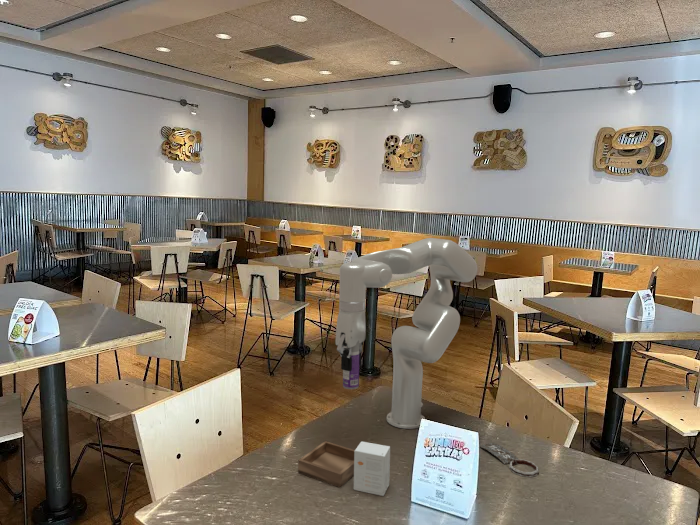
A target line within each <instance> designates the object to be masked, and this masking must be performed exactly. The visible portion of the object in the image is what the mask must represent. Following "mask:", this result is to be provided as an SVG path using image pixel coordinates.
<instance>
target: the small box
mask: <svg viewBox="0 0 700 525" xmlns="http://www.w3.org/2000/svg"><path fill="white" fill-rule="evenodd" d="M354 450H355V451H354V476H353V490H354V491H358V492H362V493H367V494H372V495H375V496H381V497H384V496H385V495H386V492H387V490H388V488H389V486H390V473H391V472H390V470H391V466H390V464H391V446H390V445H385V444H378V443H371V442H367V441H360V442H359V444H358V445H357V447H356V448H355V449H354Z"/></svg>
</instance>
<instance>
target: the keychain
mask: <svg viewBox="0 0 700 525" xmlns="http://www.w3.org/2000/svg"><path fill="white" fill-rule="evenodd" d="M479 446H480V448H479V449H481V450H486V451H488V453H491V454H492V455H493V456H495V457H496V458H497V459H498V460H500V461H501V462H500V463H501V464H503V465H507V464H509V466H508V468H509V470H510V471H511V472H512V473H513V474H515V475H518V476H520V477H527V478H532V477H536V476H538V473H539V466H538V465H537V464H535V463H534V462H533V461H529V460H527V459H519V457H517V456H516V455H515V454H514V453H512V452H511V451H509V450H508V449H507V448H505V447H503V446H502V445H500V444H498V443H495V442H490V443H485V444H481V445H479ZM518 464H519V465H525V466H526V465H527V466H529V467H531V468H533V471H522V470H519V469H517V468H516V467H514V466H515V465H518Z"/></svg>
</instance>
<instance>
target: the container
mask: <svg viewBox="0 0 700 525" xmlns="http://www.w3.org/2000/svg"><path fill="white" fill-rule="evenodd" d="M345 346H347V344H345ZM345 350H346V351H347V352H348V349H347V348H345ZM351 357H352V370H351V371H346V370H342V388H344V389H347V390H356V389H359V387H360V386H359V385H360V366H359V340H358V341H357V344H356V345H355V346H353V347H352V350H351Z"/></svg>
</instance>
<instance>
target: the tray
mask: <svg viewBox="0 0 700 525" xmlns="http://www.w3.org/2000/svg"><path fill="white" fill-rule="evenodd" d="M354 451H355V449H353V448H349V447H346V446H343V445H340V444H336V443H334V442H333V443H332V442H329V441H326V440H325V441H324V442H321V443H320V444H319V445H317V446H316V447H314V448H313V449H312V450H310V451H309V452H308V453H306V454H305V455H303V456H302V457H301V458H299V459H298V461H297V466H298V467H297V473H298V474H301V475H303V476H306V477H309V478H312V479H315V480H317V481H320V482H323V483H326V484H329V485H332V486H335V487H338V488H342V487H343V486H344V485H345V484H347V482H348V481H350V480H351V479H352V478H354Z"/></svg>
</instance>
